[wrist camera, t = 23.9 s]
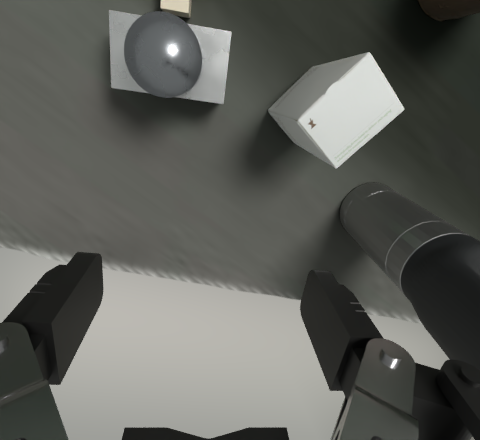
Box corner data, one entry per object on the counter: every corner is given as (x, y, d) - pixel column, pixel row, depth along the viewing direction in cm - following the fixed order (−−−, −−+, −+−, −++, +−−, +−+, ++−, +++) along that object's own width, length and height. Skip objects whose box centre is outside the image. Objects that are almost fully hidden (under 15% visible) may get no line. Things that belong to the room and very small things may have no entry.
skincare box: (293, 144, 43) (334, 174, 29) (264, 107, 41) (292, 122, 27) (341, 101, 41) (409, 111, 27) (313, 60, 39) (371, 49, 25)
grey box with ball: (228, 39, 37) (234, 23, 26) (221, 100, 40) (225, 107, 29) (126, 22, 35) (90, -4, 25) (127, 86, 38) (94, 88, 28)
